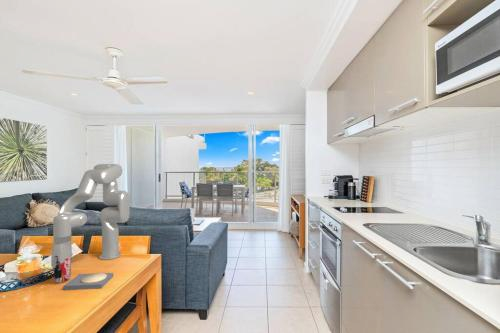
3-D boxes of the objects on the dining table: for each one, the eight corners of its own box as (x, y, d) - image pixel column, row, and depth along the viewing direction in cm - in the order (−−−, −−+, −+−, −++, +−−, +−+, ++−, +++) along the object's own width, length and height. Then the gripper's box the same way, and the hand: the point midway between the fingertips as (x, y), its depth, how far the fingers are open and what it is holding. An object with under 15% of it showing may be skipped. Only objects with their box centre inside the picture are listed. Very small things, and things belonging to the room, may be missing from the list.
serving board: (79, 277, 140) (79, 272, 140) (113, 276, 142) (113, 271, 142) (63, 290, 126) (63, 284, 126) (101, 288, 128) (101, 282, 128)
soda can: (62, 284, 132) (62, 260, 132) (50, 283, 134) (50, 259, 134) (74, 278, 139) (74, 255, 139) (62, 277, 141) (62, 254, 141)
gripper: (64, 235, 145) (64, 268, 145) (43, 244, 128) (43, 282, 128) (79, 235, 146) (79, 268, 146) (60, 244, 128) (60, 281, 128)
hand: (62, 274), depth 137 cm, fingers closed on soda can, 7 cm apart
